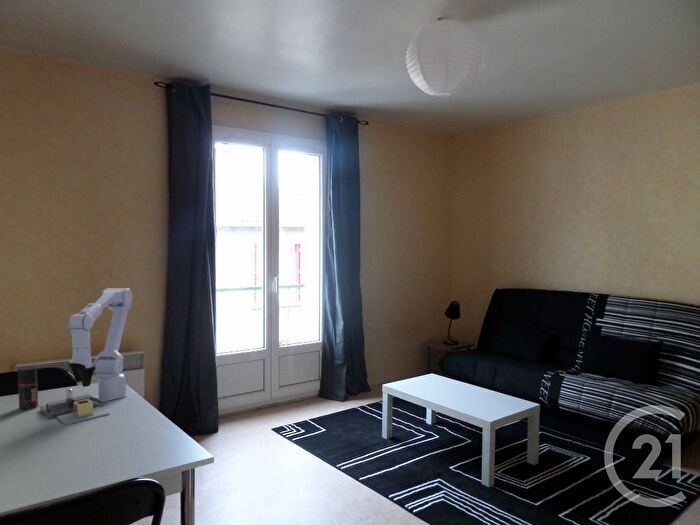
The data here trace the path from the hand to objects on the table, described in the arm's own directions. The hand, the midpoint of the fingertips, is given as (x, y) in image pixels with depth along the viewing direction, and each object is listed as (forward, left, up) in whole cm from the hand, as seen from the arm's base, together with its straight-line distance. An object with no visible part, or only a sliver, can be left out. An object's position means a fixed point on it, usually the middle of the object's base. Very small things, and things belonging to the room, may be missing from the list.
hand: (82, 384), depth 178 cm
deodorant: (+13, -20, -11) cm, 26 cm away
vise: (+3, -7, -10) cm, 13 cm away
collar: (+2, +5, -10) cm, 11 cm away
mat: (+2, +5, -10) cm, 12 cm away
